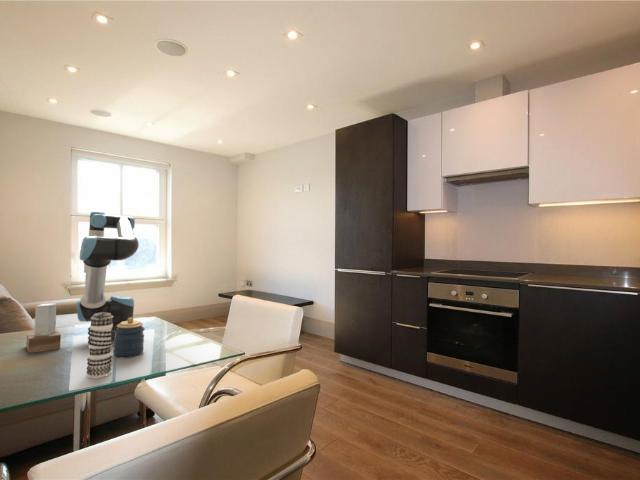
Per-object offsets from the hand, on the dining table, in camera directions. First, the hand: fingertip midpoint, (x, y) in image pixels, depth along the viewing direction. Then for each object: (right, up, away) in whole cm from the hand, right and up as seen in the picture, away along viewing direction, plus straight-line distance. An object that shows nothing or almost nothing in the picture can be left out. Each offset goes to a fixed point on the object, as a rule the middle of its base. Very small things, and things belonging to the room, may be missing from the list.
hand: (94, 273), depth 202 cm
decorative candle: (+44, -36, -62) cm, 84 cm away
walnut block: (-3, -34, -33) cm, 48 cm away
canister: (+41, -36, -37) cm, 66 cm away
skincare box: (-3, -27, -33) cm, 43 cm away
